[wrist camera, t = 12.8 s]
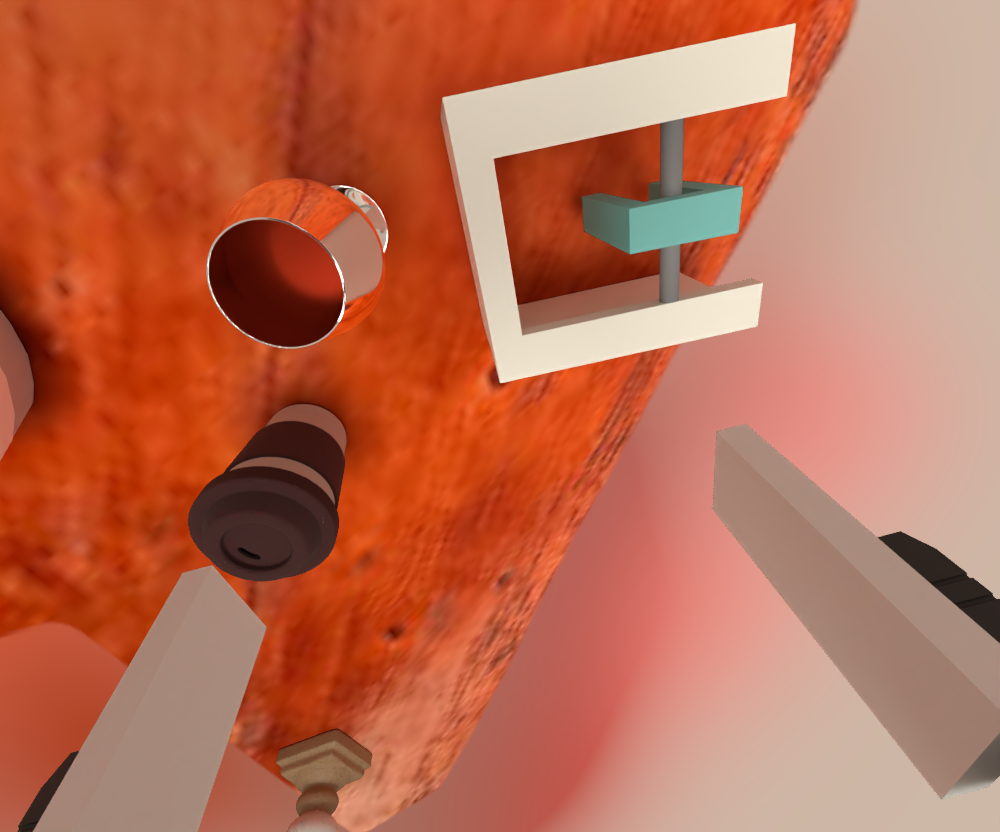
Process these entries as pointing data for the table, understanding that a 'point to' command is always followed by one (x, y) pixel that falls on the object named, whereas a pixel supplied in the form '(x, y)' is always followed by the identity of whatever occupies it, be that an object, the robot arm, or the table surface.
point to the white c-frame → (642, 102)
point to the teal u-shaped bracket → (663, 216)
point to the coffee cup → (275, 498)
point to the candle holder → (321, 776)
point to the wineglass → (298, 261)
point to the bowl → (13, 383)
